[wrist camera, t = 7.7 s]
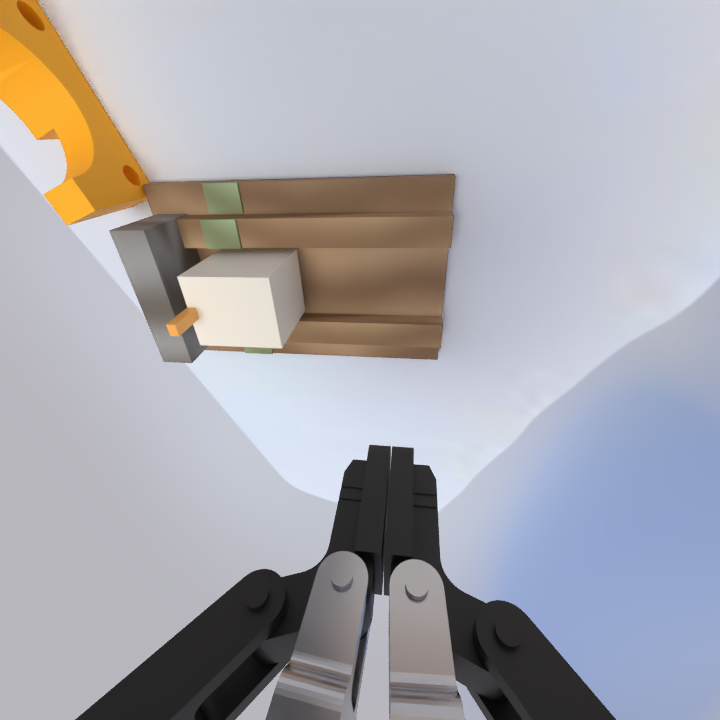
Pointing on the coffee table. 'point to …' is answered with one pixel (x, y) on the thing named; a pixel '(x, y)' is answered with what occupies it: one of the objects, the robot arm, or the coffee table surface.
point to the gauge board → (306, 257)
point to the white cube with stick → (242, 298)
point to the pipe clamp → (65, 116)
